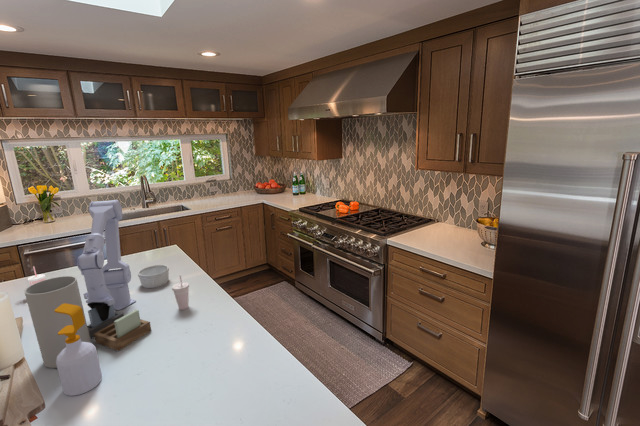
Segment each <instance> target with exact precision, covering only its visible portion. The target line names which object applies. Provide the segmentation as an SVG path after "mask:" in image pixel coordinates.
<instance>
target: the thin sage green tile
mask: <svg viewBox="0 0 640 426" xmlns="http://www.w3.org/2000/svg"><path fill="white" fill-rule="evenodd" d="M140 316H141V315H140V311H139V309H134V310H132V311H131V312H128V313H127V314H124V316H123V317H121V318H119V319H117V320H115V321H114V325H115V330H116V334H117V339H118V338H120V337H122V336H123V335H125V334H127V333H128V332H130V331H132V330H134V329H135V328H137V327H139V326H140V325H141V321H140V319H141V317H140Z"/></svg>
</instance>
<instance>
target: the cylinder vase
mask: <svg viewBox="0 0 640 426" xmlns="http://www.w3.org/2000/svg"><path fill="white" fill-rule="evenodd" d="M23 291H24V296H25V298H26V302H27V306H28V311H29V313H30V317H31V322H32V326H33V329H34V332H35V337H36V341H37V342H38V347H39V350H40V354H41V358H42V361H43V365H44V366H45V367H46V368H49V369H57V365H56V359H57V356H58V355H59V353H60V352H61V351H62V350H63V349H65V348H66V343H65V340H66V339H67V338H68V336H65V335H58V332H59V331H60V330H61V329H63V328H64V327H65V326H68V325H73V322H72V318H71V317H70V316H69V315H67V314H62V313H56V312H54V311H55V309H56V308H58V307H59V306H60V305H62V304H64V303H67V304H72V305H78V306H80V307H81V308H82V311H83V315H84V319H85V324H84V325H83V326H82V327H81V328H80V329H79V330H77V333H75V334H76V335H80V339H81V342H89V343H92V340H91V338H90V336H89V332H88V327H87V326H88V324H87V319H86V314H85V310H84V306H83V302H82V297H81V293H80V289H79V284H78V280H77V277H76V276H73V275H64V276H63V275H62V276H56V277H51V278H46V279H45V280H43V281H40V282H38V283H35V284H33V285H31V286H30V285H29V286H28V287H26V288H25V290H23Z"/></svg>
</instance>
